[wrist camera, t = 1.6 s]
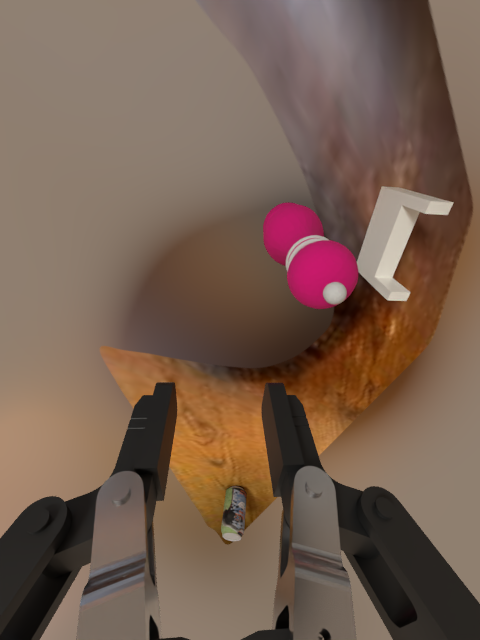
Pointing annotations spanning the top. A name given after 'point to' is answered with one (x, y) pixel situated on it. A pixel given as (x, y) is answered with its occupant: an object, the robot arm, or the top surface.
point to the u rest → (393, 236)
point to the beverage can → (234, 514)
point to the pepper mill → (309, 256)
